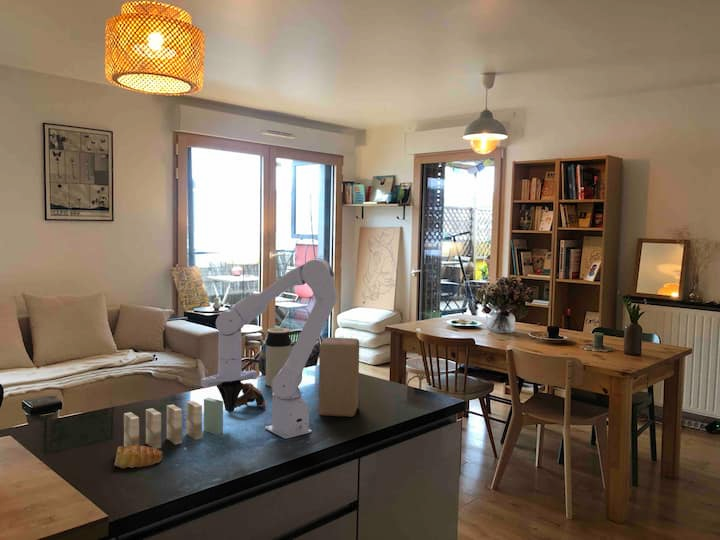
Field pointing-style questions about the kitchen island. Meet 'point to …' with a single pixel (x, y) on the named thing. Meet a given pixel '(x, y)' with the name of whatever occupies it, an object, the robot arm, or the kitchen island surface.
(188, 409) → the domino
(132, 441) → the domino
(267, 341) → the travel mug
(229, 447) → the kitchen island surface
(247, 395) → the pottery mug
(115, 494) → the kitchen island surface
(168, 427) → the domino
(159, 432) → the domino
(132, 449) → the pastry
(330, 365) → the wooden block
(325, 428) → the kitchen island surface
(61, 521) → the kitchen island surface
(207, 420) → the domino
